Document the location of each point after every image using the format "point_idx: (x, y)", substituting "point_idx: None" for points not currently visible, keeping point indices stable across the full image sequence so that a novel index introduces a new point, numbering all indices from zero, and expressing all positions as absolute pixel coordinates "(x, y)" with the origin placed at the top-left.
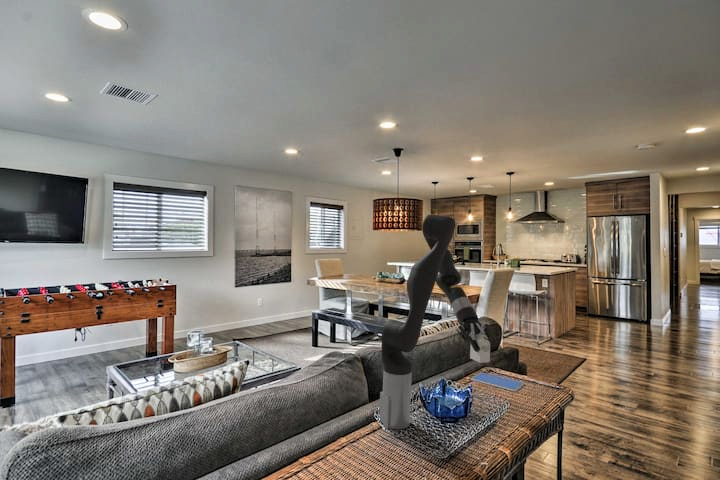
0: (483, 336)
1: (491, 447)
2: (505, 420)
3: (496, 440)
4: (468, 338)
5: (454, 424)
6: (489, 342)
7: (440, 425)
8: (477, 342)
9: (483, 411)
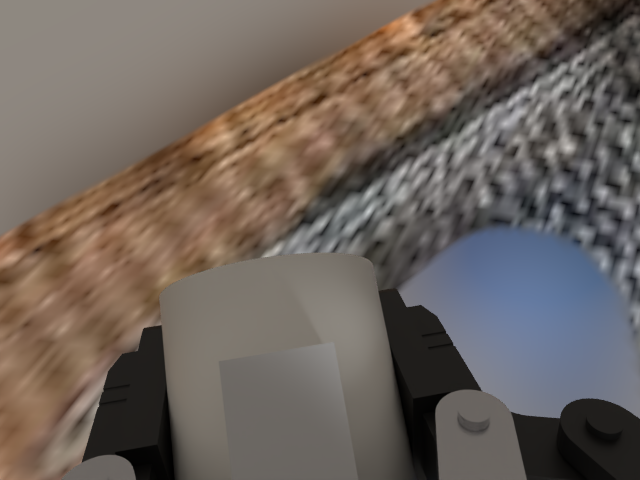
0: (249, 358)
1: (441, 39)
2: (244, 219)
3: (394, 76)
4: (606, 403)
5: (520, 220)
6: (171, 285)
7: (590, 221)
8: (390, 359)
9: None
